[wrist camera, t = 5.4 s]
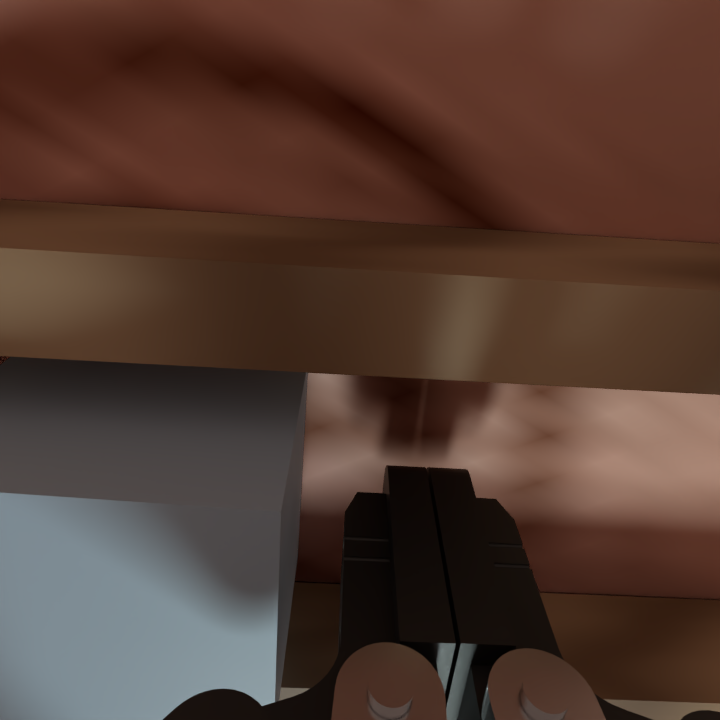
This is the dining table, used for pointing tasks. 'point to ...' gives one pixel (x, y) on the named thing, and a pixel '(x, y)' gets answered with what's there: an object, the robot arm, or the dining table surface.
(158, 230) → the track
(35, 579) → the block
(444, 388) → the dining table surface
